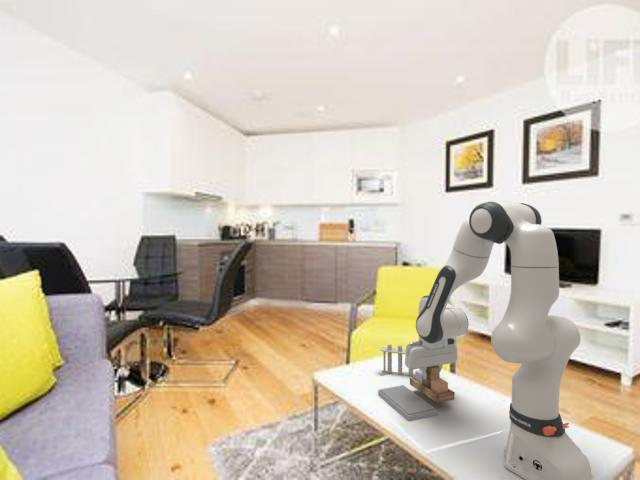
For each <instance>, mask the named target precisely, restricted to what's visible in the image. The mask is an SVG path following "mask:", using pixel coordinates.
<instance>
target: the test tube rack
mask: <svg viewBox="0 0 640 480" xmlns="http://www.w3.org/2000/svg"><path fill="white" fill-rule="evenodd" d="M380 352H382V353H383V369H382V370H381V372H380V373H379V376H381V377H382V376H389V375H395V374H397V375H398V376H402V375H403V355H406V349H403V345H400V344H398V345H397V348H394V347H393V346H392V344H391V343H388V344H387V347H384V346H383V347H381V348H380ZM386 353H387V367H386ZM392 354H397V372H394V371H393V369H392V366H393V363H392V362H393V360H392V359H393V358H392V357H393V355H392ZM386 369H387V370H386ZM419 370H421V369H419ZM413 375H414V370H411V369H409V368H408V377H409V378H412V377H413ZM439 378H440V377H439Z"/></svg>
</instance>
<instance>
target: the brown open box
mask: <svg viewBox="0 0 640 480" xmlns="http://www.w3.org/2000/svg"><path fill="white" fill-rule="evenodd" d="M425 371H426V373H428V374H429V379H424V378H423V384H421V383H419V382H418V381H416V380H415V376H414V377H413V376H412V377H409V385H410V386H411V387H413V388H414V389H416V390H417V391H419V392H421V393H422V394H423V395H425V396H427V397H428V398H430V399H431V400H433V401H434V402H436V403H437V404H440V403H445V402H450V401H454V400H455V398H456V397H455V395H456V393H455V391H453V390H452V389H450V388H448V392H447V393H443V394H437V393H435V392H434V391H432V390H431V380H434V379H439V367H438V366H432V367H427V370H425Z"/></svg>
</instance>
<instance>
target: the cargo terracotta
mask: <svg viewBox="0 0 640 480" xmlns="http://www.w3.org/2000/svg"><path fill="white" fill-rule="evenodd" d="M448 389H449V382H448V381H446V380H444V379H442V378H439V379H434V380H431V390H432V391H434V392H435V393H437V394H443V393H447V392H448Z"/></svg>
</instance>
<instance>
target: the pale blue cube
mask: <svg viewBox="0 0 640 480" xmlns="http://www.w3.org/2000/svg"><path fill="white" fill-rule="evenodd" d="M414 373H415V376H414V377H415V380H416V381H418V382H419V383H421V384H423V373H422V371H421V370H420V369H417V370H415V372H414Z"/></svg>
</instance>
